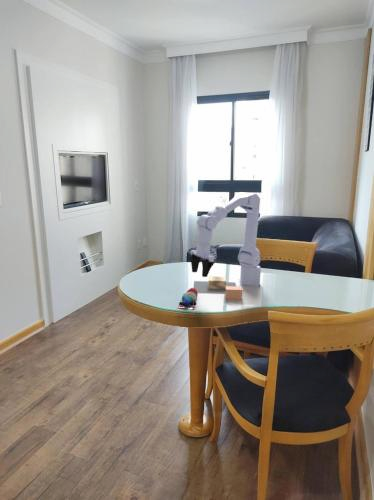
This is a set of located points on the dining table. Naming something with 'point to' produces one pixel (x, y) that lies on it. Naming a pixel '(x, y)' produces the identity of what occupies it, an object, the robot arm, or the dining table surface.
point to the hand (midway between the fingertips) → (199, 274)
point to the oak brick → (217, 282)
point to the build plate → (203, 288)
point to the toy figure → (189, 298)
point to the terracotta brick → (233, 293)
